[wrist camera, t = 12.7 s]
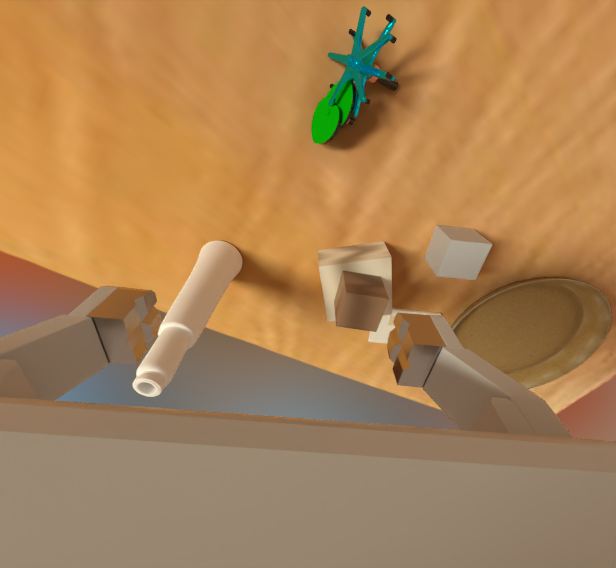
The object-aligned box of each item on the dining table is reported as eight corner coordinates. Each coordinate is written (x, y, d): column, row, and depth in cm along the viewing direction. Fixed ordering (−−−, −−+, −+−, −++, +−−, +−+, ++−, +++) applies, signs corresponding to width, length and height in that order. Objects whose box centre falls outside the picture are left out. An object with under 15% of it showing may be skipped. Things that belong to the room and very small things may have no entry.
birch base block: (383, 240, 40) (391, 257, 36) (384, 294, 45) (392, 314, 40) (318, 249, 41) (318, 266, 37) (326, 301, 45) (327, 321, 41)
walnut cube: (380, 276, 37) (389, 299, 33) (369, 307, 40) (376, 332, 36) (342, 270, 37) (346, 292, 33) (333, 301, 39) (336, 326, 35)
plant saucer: (539, 385, 55) (551, 401, 52) (416, 372, 54) (421, 387, 51) (631, 277, 42) (653, 290, 40) (472, 257, 41) (484, 268, 38)
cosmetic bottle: (247, 274, 43) (196, 408, 24) (208, 279, 43) (129, 414, 25) (235, 237, 40) (166, 357, 21) (193, 243, 40) (90, 365, 22)
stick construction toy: (355, -17, 25) (401, 27, 22) (404, 23, 29) (448, 64, 26) (292, 116, 33) (319, 162, 30) (337, 132, 37) (365, 173, 34)
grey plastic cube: (473, 228, 38) (492, 244, 34) (458, 261, 41) (475, 280, 37) (436, 224, 38) (451, 239, 34) (424, 258, 41) (436, 276, 37)
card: (440, 312, 46) (441, 315, 45) (425, 344, 50) (426, 347, 49) (377, 306, 45) (378, 308, 45) (368, 339, 49) (368, 342, 49)
